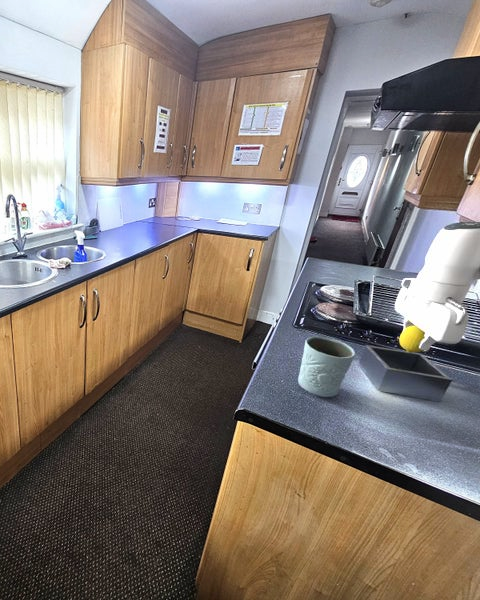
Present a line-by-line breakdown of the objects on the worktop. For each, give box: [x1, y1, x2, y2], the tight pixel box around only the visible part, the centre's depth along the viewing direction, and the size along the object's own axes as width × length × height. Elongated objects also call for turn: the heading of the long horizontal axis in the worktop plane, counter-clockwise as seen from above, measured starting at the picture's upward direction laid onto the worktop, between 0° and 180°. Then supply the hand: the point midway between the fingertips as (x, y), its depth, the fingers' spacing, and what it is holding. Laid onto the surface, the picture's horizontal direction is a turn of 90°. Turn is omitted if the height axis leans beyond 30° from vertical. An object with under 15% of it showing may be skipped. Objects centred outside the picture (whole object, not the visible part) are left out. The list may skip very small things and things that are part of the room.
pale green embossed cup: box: [297, 336, 356, 398], centre depth 83 cm, size 10×10×12 cm
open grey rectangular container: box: [357, 344, 453, 403], centre depth 86 cm, size 13×13×7 cm
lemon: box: [398, 325, 425, 353], centre depth 82 cm, size 6×6×8 cm
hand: (414, 342), depth 83 cm, fingers closed on lemon, 5 cm apart
